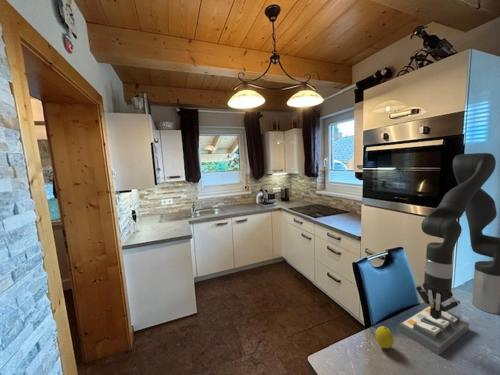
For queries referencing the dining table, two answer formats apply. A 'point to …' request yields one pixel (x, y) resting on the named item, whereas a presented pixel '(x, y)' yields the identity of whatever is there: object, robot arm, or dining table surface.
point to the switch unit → (430, 339)
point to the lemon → (384, 337)
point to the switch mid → (439, 321)
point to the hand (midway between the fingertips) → (435, 317)
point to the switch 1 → (429, 327)
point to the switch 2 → (449, 316)
